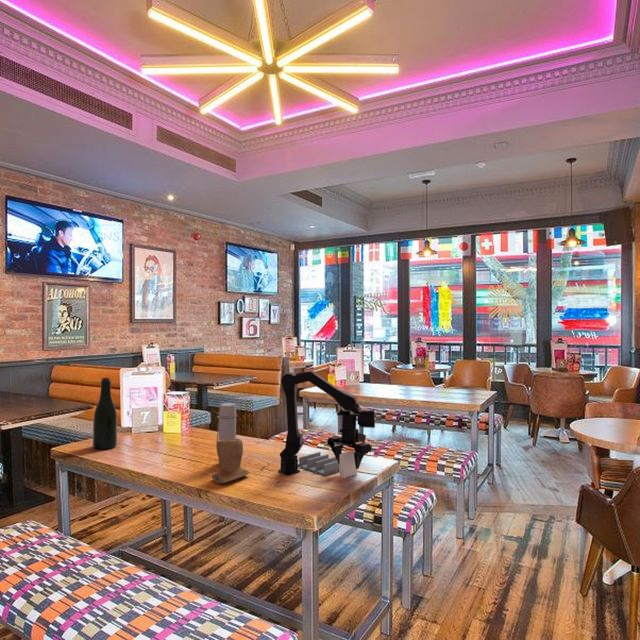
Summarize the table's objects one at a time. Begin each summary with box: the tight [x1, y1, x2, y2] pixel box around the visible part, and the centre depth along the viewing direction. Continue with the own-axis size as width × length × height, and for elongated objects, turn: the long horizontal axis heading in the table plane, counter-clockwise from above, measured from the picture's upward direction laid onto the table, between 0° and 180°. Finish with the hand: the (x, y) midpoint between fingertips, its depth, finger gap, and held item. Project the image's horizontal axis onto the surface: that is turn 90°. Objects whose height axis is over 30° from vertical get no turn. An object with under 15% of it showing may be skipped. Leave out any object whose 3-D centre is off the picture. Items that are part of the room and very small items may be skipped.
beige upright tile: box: [338, 450, 358, 479], centre depth 184 cm, size 8×2×9 cm, turn 135°
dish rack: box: [298, 451, 340, 476], centre depth 194 cm, size 14×16×4 cm
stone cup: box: [210, 438, 250, 485], centre depth 179 cm, size 15×12×15 cm
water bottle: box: [215, 402, 237, 465], centre depth 198 cm, size 9×8×25 cm
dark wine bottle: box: [92, 377, 118, 451], centre depth 221 cm, size 10×10×33 cm
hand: (348, 466), depth 184 cm, fingers open, 9 cm apart
